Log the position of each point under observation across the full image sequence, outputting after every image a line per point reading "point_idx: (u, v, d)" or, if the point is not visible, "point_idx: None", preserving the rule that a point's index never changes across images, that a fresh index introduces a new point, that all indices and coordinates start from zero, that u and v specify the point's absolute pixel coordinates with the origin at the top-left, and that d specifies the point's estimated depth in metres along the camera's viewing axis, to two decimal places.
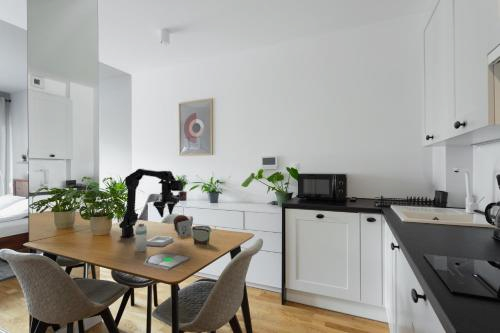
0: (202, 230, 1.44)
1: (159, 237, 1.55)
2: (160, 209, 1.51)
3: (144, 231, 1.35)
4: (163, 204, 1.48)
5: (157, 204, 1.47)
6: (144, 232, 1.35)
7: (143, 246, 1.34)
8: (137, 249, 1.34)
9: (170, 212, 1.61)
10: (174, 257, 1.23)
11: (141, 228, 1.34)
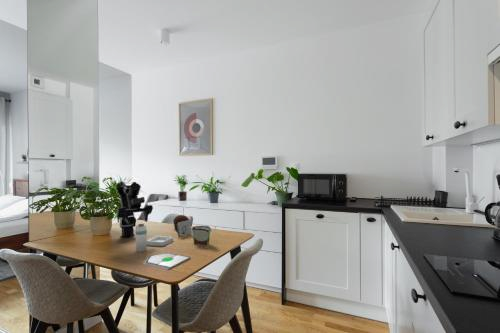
0: (202, 230, 1.44)
1: (159, 237, 1.55)
2: (125, 217, 1.42)
3: (144, 231, 1.35)
4: (121, 209, 1.41)
5: (117, 212, 1.42)
6: (144, 232, 1.35)
7: (143, 246, 1.34)
8: (137, 249, 1.34)
9: (145, 219, 1.46)
10: (174, 257, 1.23)
11: (141, 228, 1.34)
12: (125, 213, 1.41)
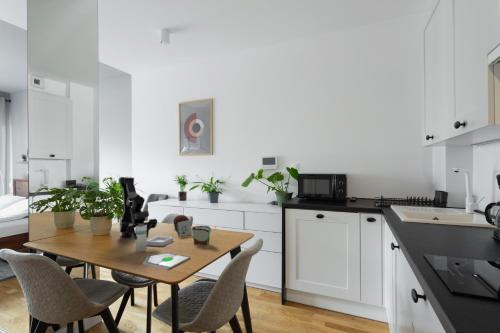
0: (202, 230, 1.44)
1: (159, 237, 1.55)
2: (132, 232, 1.36)
3: (144, 231, 1.35)
4: (124, 224, 1.33)
5: (120, 227, 1.34)
6: (144, 232, 1.35)
7: (143, 246, 1.34)
8: (137, 249, 1.34)
9: None
10: (174, 257, 1.23)
11: (141, 228, 1.34)
12: (132, 228, 1.35)
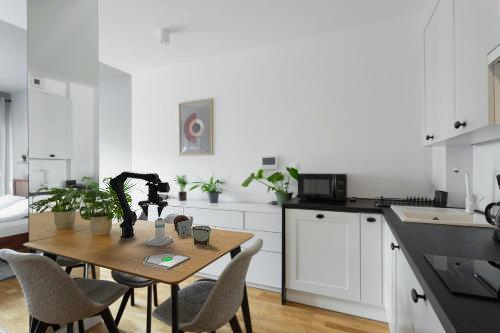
0: (202, 230, 1.44)
1: None
2: (160, 209, 1.60)
3: (164, 224, 1.49)
4: None
5: (165, 204, 1.60)
6: (164, 225, 1.49)
7: (163, 238, 1.49)
8: (158, 241, 1.47)
9: (147, 214, 1.63)
10: (174, 257, 1.23)
11: (162, 221, 1.48)
12: None
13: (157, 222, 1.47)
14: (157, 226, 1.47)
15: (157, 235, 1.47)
